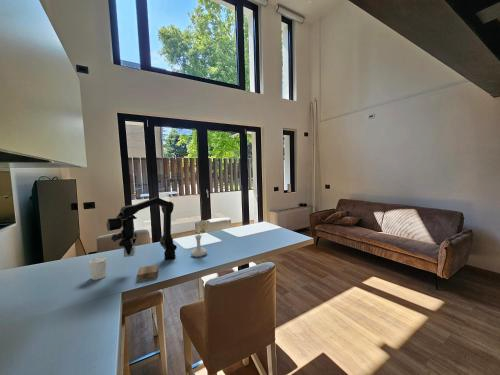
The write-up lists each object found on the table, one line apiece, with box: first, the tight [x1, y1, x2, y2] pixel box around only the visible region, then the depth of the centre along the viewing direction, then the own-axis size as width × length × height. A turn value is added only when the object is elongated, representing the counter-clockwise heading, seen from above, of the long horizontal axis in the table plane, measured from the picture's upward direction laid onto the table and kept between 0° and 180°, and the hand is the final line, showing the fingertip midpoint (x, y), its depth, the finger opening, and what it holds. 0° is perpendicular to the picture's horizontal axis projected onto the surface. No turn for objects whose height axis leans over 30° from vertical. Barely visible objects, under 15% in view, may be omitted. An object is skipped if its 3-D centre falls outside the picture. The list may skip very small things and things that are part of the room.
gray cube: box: [123, 244, 136, 258], centre depth 125 cm, size 5×5×5 cm
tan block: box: [136, 264, 159, 282], centre depth 120 cm, size 10×10×4 cm
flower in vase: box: [190, 219, 209, 258], centre depth 149 cm, size 13×11×25 cm
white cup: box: [88, 256, 107, 281], centre depth 120 cm, size 8×8×10 cm
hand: (129, 252), depth 125 cm, fingers closed on gray cube, 5 cm apart
